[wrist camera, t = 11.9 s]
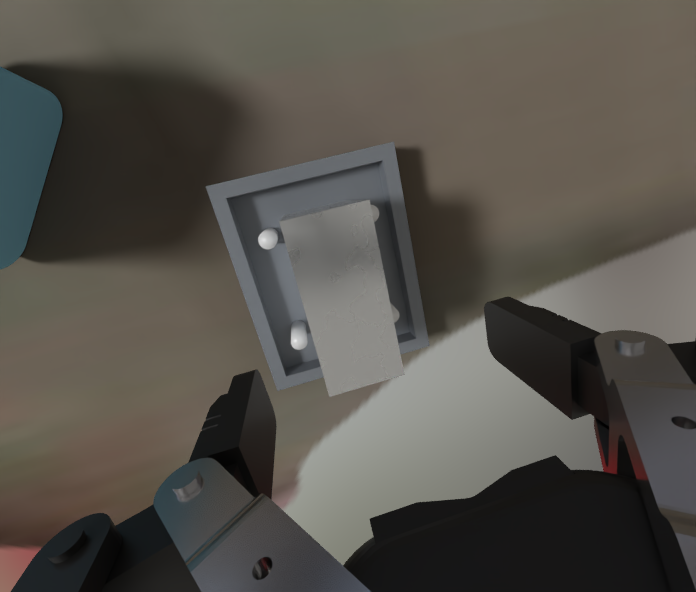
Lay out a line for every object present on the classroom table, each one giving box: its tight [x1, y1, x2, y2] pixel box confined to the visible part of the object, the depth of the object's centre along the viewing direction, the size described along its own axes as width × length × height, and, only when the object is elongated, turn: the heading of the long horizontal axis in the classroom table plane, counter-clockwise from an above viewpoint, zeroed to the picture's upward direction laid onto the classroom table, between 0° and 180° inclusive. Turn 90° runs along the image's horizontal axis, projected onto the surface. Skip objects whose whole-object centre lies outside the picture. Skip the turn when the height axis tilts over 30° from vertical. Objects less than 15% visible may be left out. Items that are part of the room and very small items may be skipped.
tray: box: [206, 142, 429, 391], centre depth 25 cm, size 16×13×4 cm
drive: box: [279, 200, 404, 397], centre depth 22 cm, size 10×4×9 cm, turn 13°
